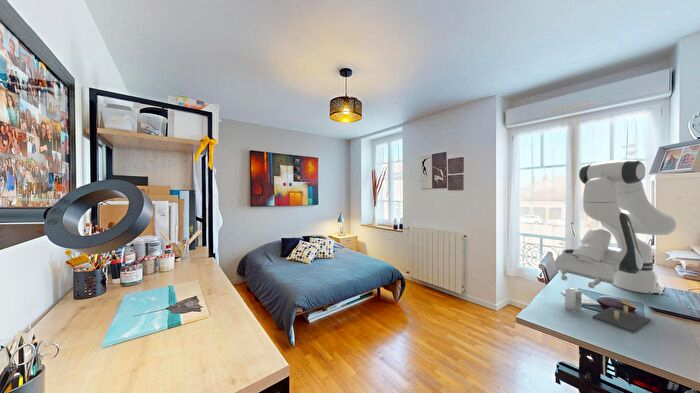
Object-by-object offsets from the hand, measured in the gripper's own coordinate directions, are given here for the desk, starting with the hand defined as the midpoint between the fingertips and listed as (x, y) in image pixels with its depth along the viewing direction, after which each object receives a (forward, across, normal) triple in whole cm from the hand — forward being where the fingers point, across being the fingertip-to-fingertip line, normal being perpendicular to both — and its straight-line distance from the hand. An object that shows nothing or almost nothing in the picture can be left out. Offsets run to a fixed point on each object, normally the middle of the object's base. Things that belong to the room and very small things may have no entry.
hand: (576, 283), depth 108 cm
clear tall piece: (+10, 0, -5) cm, 11 cm away
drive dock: (+6, -14, -8) cm, 17 cm away
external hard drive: (+1, +3, -14) cm, 15 cm away
